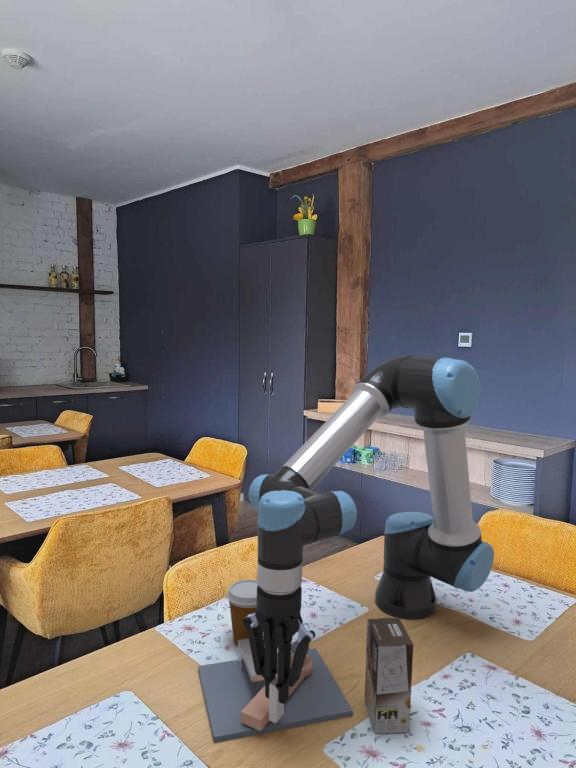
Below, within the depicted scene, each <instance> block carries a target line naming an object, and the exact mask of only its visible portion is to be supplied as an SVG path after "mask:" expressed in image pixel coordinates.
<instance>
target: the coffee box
mask: <svg viewBox="0 0 576 768" xmlns="http://www.w3.org/2000/svg"><path fill="white" fill-rule="evenodd" d="M366 621H367V622H366V626H367V627H366V649H365V650H366V651H365V652H366V653H365V679H364V680H365V681H364V702H365V703H364V704H365V707H366V710H367V712H368V716H369V719H370V723H371V725H372V729H373V732H374V734H377V735H378V734H397V733H398V734H401V733H409V732H410V723H411V722H410V721H411V720H410V719H411V700H412V683H413V682H412V677H413V659H414V643H413V641H412V639H411V637H410V635H409V634H408V632H407V630H406V628H405V626H404V625H403V622H402V620H401V619H400V617H378V618H368V619H367V620H366Z"/></svg>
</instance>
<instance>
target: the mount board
mask: <svg viewBox="0 0 576 768" xmlns="http://www.w3.org/2000/svg"><path fill="white" fill-rule="evenodd" d="M291 654H294V653H293V652H292V651H291ZM307 655H309V656H310V657H311V658H313V668H312V673H311V675H310V676H308V677H306V678H304V679H303V680H302V681H301V683H300V684H299V685H298V686H297V688H296V689H295V690H294V691H293V692H292V694H291V695H290V696H289V697H288V699H287V700H286V702H285V703H284V714H283V715H282V716H281V718H280V719H279V720H278V722H277V723H275V722H272V721H270V720H269V722H268V723H267V724H266V725H265V727H264V728H263V729H262V730H261V731H259V730H257V729H255V728H252V727H250V726H248V725H245V724H243V723H241V711H242V710H243V709H244V708H245V707H246V706H247V705H248V703H249V702H250V701H251V700H252V699H253V698H254V697H255V696H256V695H257V694H258V693H259V691H260V690H261V689H262V688H263V687H264V686H265V680H261V681H255V682H251V680H250V677H249V674H248V671H242V672H241V669H240V666H239V663H238V659H234V660H228V661H221V662H216V663H215V662H213V663H207V664H202V665H198V667H197V672H198V675H199V680H200V685H201V689H202V694H203V698H204V704H205V708H206V712H207V717H208V722H209V727H210V730H211V735H212V739H213V743H214V744H215V743H221V742H225V741H230V740H235V739H241V738H246V737H251V736H255V735H260V734H266V733H271V732H276V731H280V730H282V731H283V730H287V729H292V728H297V727H302V726H307V725H312V724H317V723H323V722H327V721H333V720H338V719H344V718H348V717H353V716H354V710H353V708H352V706H351V705H350V702H349V701H348V699H347V698H346V696H345V695H344V693H343V691H342V690H341V688H340V686H339V685H338V683H337V681H336V679H335V678H334V676H333V674H332V673H331V671H330V669H329V668H328V666H327V664H326V662H325V661H324V659H323V657H322V656H321V655H320V652H319V651H318V649H317V648H316V647H312V648H309V651H308V652H307ZM277 669H278V654H277ZM277 671H278V670H277Z"/></svg>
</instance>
